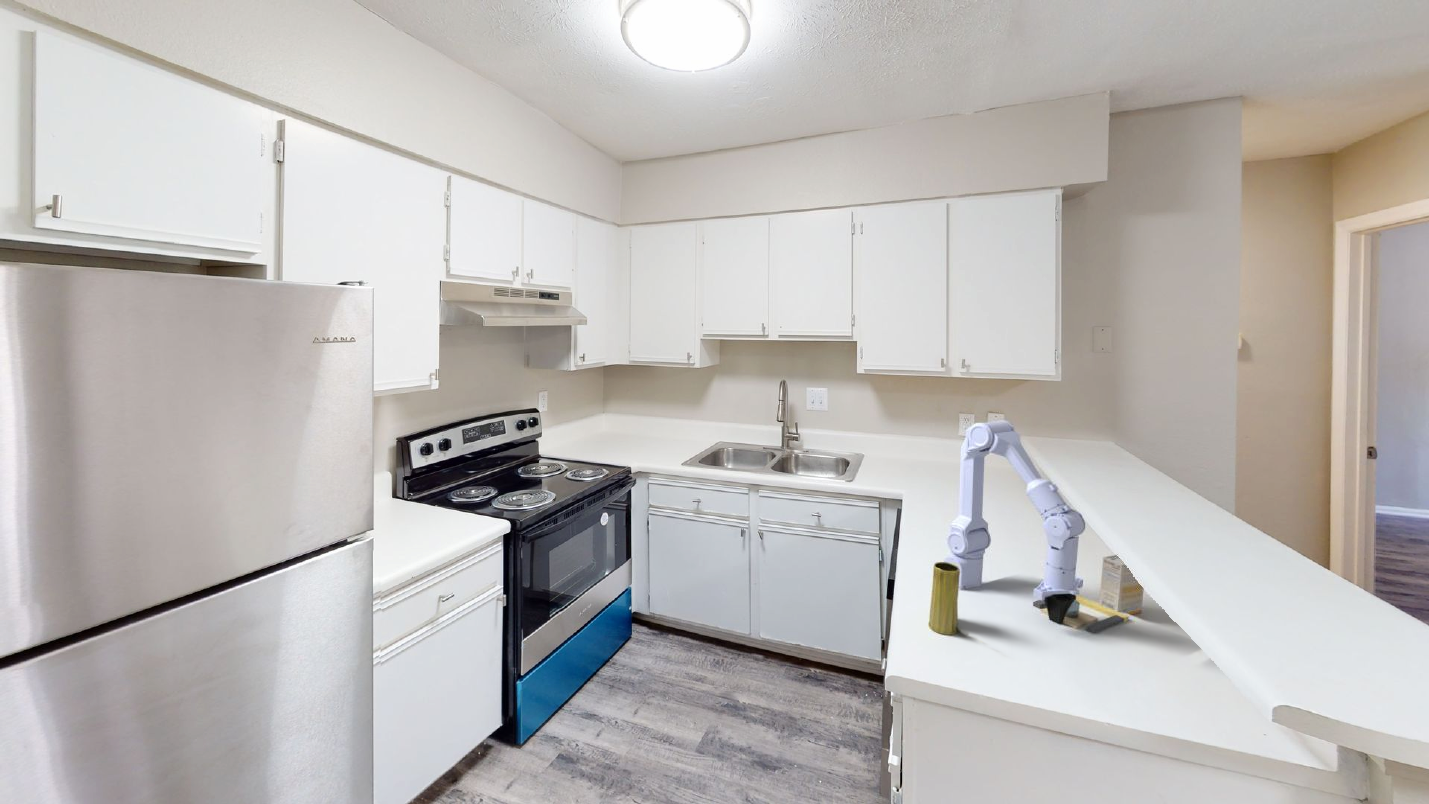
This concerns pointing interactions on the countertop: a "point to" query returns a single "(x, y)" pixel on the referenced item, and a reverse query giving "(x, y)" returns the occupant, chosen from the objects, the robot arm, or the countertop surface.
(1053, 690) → the countertop surface
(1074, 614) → the steel cylinder puck
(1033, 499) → the robot arm
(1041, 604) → the frame
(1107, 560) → the supplement box
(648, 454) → the countertop surface
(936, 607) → the vase
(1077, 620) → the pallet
